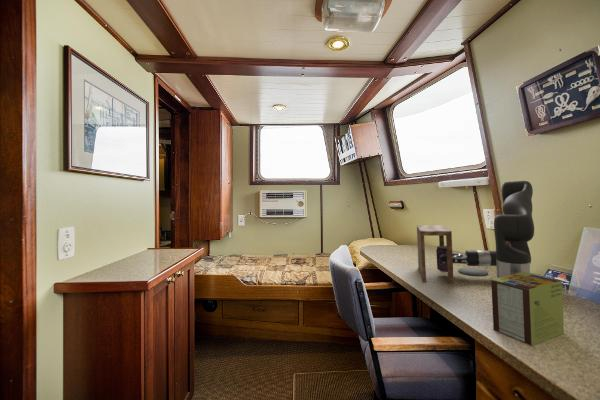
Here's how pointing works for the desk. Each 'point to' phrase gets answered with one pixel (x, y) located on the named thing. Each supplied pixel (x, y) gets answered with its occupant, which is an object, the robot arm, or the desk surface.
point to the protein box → (527, 307)
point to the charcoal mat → (472, 271)
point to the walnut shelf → (441, 232)
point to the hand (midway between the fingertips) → (439, 257)
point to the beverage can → (440, 253)
